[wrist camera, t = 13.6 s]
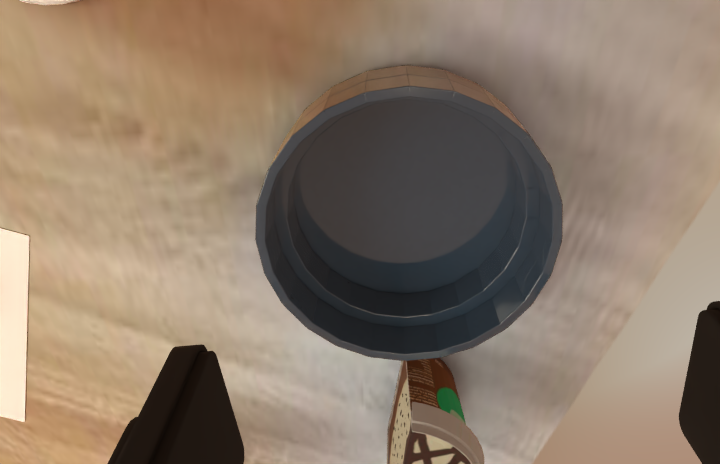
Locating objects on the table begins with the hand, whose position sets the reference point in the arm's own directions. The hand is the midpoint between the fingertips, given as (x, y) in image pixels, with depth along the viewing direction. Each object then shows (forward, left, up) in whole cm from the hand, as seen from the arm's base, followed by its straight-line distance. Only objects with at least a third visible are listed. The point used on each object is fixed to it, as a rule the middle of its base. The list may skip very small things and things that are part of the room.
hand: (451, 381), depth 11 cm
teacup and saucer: (-43, -12, -28) cm, 52 cm away
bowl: (-1, -8, -28) cm, 29 cm away
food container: (-1, -26, -28) cm, 38 cm away
